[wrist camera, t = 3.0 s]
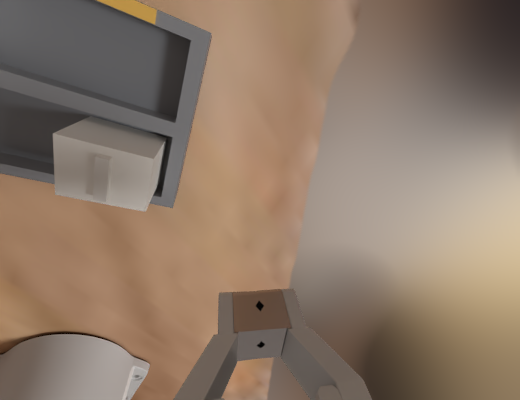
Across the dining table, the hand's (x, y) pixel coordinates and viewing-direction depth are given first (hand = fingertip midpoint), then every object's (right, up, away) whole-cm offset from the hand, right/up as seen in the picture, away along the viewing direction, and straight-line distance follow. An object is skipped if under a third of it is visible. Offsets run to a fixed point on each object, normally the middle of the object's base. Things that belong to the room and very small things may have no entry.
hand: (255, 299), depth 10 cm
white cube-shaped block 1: (-10, +8, +8) cm, 15 cm away
